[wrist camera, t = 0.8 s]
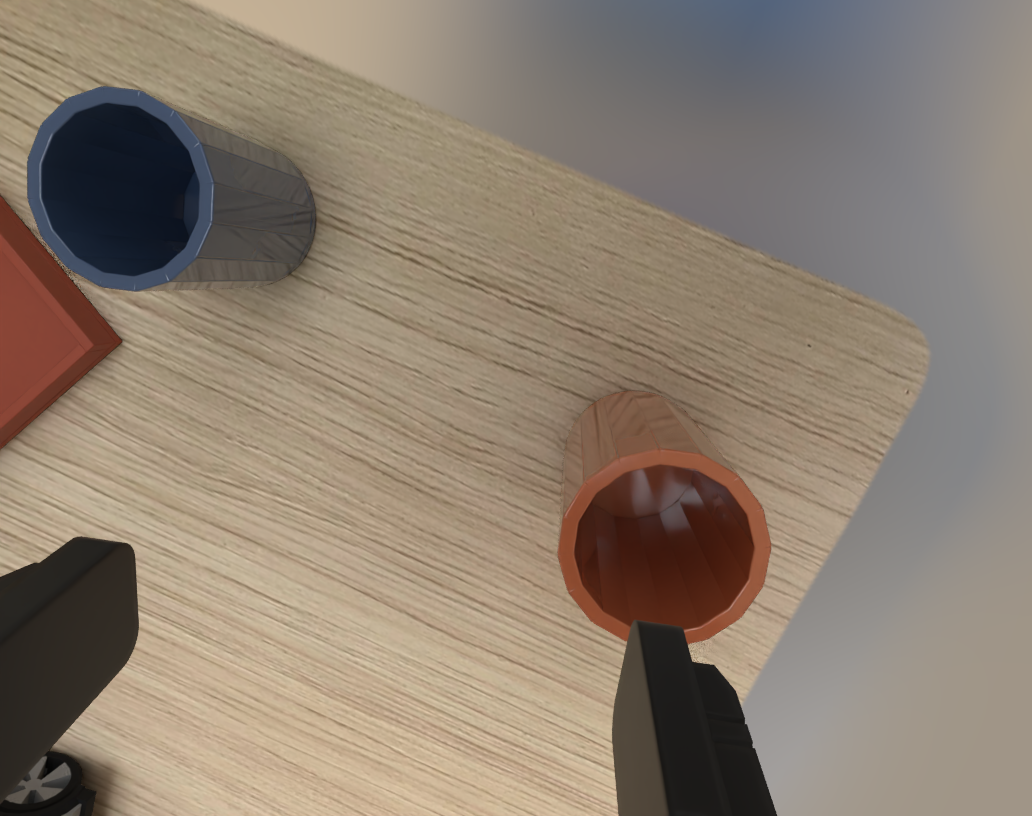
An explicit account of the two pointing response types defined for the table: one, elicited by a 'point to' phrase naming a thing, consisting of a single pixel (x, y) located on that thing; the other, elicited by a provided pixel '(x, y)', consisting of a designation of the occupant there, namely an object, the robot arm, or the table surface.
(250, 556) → the table surface
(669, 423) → the terracotta cup
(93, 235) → the slate cup
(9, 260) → the rust tray
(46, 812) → the toy car
